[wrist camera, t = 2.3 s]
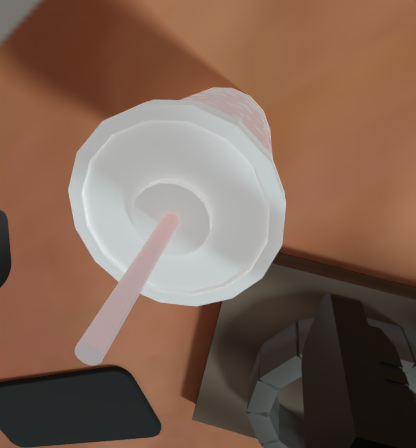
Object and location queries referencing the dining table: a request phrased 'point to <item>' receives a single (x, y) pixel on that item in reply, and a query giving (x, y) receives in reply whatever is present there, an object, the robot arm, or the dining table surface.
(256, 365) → the ring holder
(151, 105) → the beverage cup
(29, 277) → the dining table surface
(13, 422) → the phone
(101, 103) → the dining table surface
